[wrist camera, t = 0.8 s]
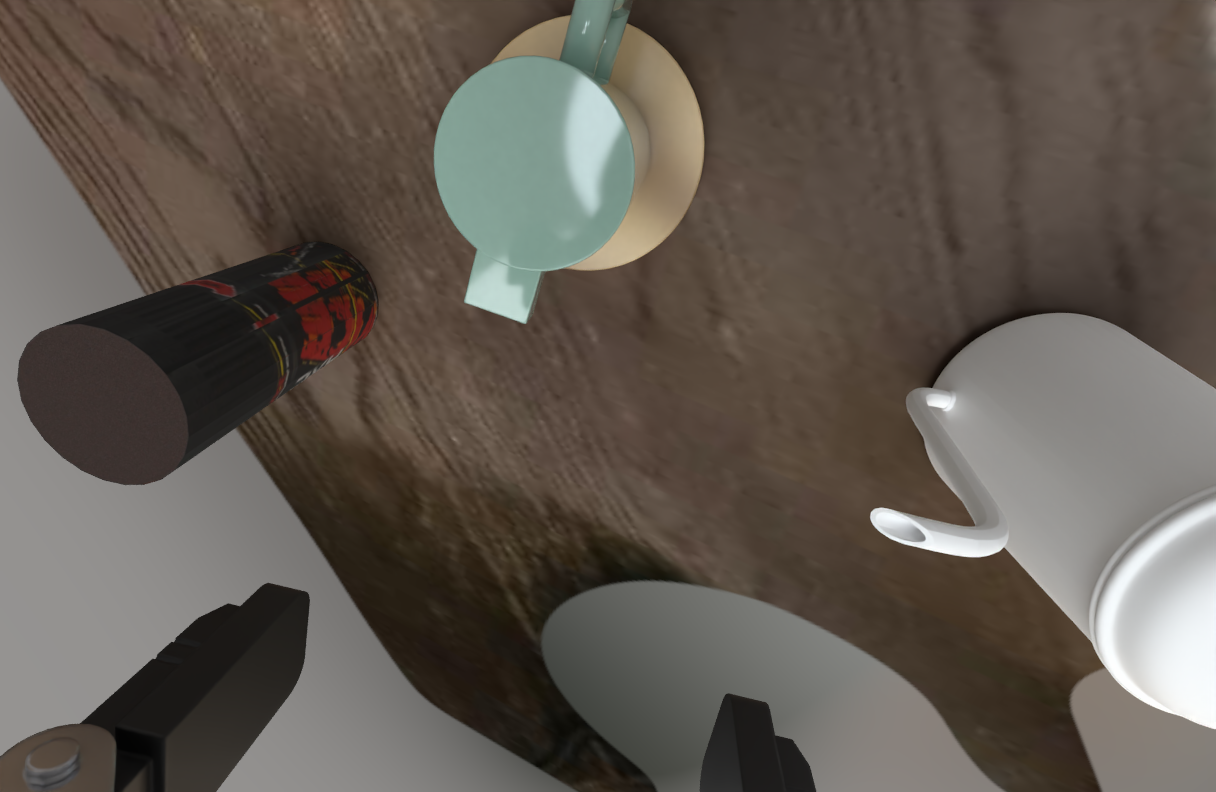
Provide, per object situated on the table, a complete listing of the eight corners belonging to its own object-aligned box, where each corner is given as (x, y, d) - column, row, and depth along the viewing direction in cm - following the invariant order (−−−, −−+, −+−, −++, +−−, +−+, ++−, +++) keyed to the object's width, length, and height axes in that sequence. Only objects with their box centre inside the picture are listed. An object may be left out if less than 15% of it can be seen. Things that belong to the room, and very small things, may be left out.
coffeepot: (829, 236, 32) (1002, 376, 15) (1318, 381, 32) (2048, 685, 15) (751, 428, 36) (813, 709, 19) (1181, 554, 37) (1625, 943, 19)
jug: (613, 273, 32) (581, 345, 22) (492, 230, 32) (404, 283, 22) (698, 25, 28) (707, -27, 17) (557, -27, 27) (485, -110, 17)
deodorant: (352, 367, 37) (160, 513, 24) (257, 309, 37) (1, 426, 23) (395, 282, 35) (211, 390, 21) (296, 219, 34) (38, 287, 21)
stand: (656, 294, 34) (655, 302, 32) (453, 222, 34) (442, 227, 32) (740, 68, 29) (743, 65, 28) (507, -18, 29) (498, -26, 28)
